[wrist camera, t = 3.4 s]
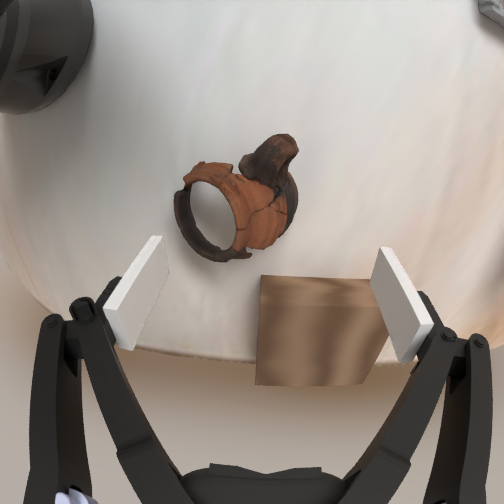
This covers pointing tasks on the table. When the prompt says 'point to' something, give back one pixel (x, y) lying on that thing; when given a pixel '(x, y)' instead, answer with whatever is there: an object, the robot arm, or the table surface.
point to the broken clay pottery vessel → (245, 199)
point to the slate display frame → (492, 10)
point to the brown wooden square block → (317, 331)
